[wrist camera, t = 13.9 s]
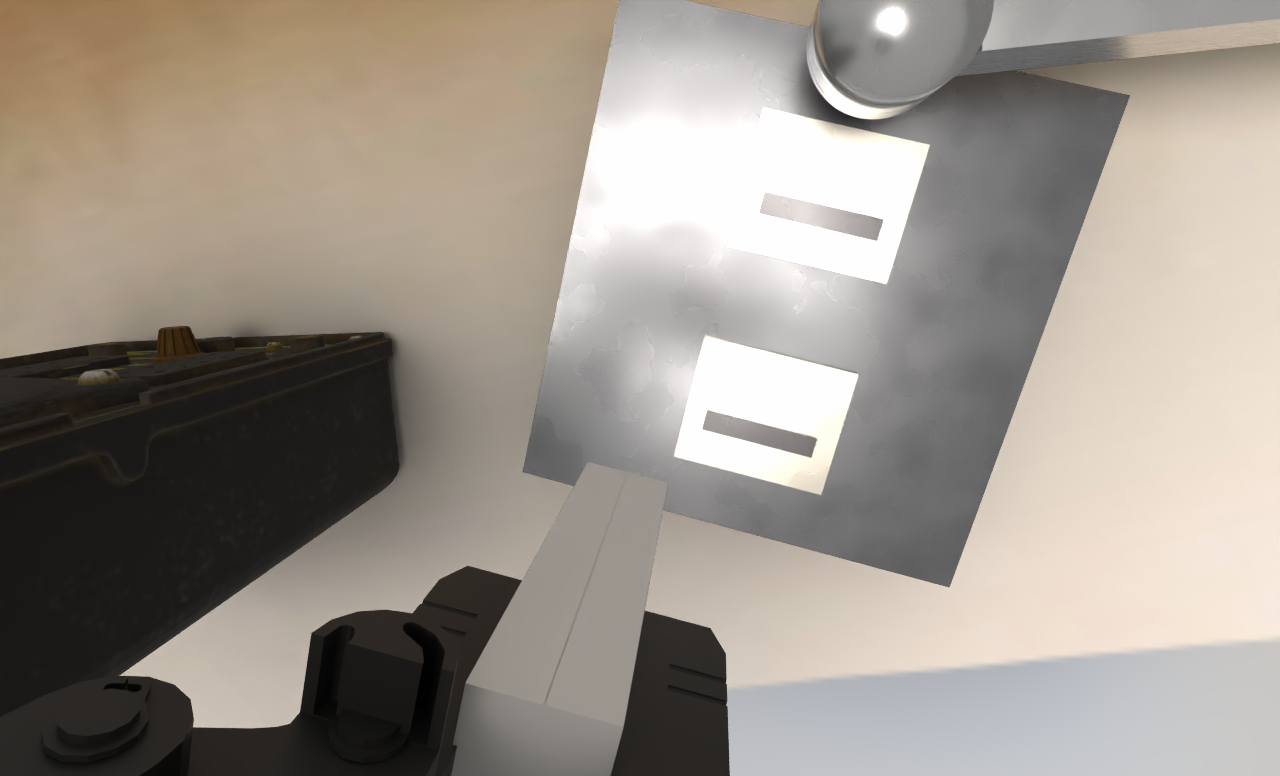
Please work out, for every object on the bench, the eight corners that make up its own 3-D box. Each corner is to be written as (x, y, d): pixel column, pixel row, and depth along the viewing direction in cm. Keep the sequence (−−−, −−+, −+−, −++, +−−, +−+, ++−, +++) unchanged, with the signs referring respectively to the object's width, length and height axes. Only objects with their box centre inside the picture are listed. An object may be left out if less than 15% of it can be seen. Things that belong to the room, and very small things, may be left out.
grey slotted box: (541, 451, 33) (499, 496, 27) (636, 0, 28) (611, -63, 22) (929, 555, 31) (974, 627, 25) (1092, 97, 27) (1191, 57, 21)
